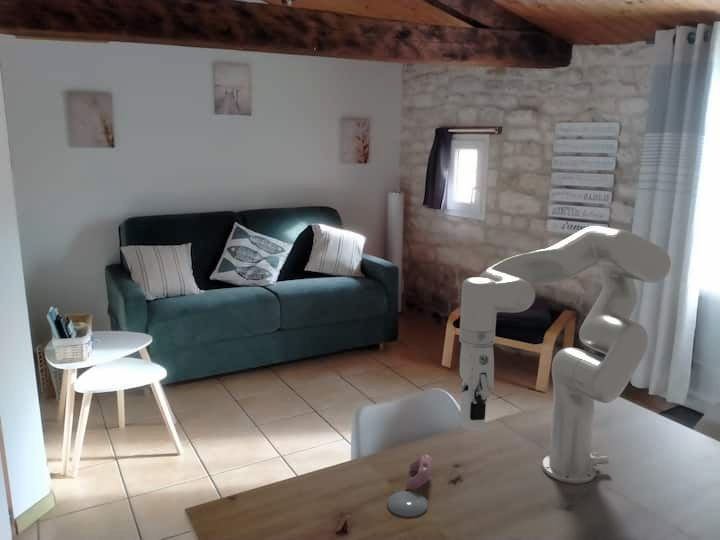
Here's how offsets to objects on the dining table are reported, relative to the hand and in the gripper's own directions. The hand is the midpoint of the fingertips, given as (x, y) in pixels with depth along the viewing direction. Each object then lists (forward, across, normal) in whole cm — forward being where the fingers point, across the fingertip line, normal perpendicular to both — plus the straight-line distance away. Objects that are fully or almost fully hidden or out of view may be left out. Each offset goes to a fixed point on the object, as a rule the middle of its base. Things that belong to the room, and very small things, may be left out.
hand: (472, 412), depth 134 cm
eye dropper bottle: (+4, 0, 0) cm, 4 cm away
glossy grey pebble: (+22, 0, +14) cm, 26 cm away
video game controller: (+22, +10, +9) cm, 26 cm away
